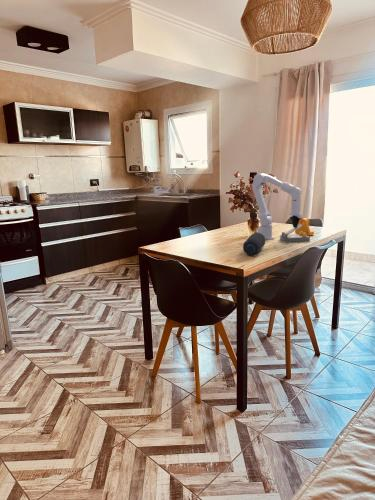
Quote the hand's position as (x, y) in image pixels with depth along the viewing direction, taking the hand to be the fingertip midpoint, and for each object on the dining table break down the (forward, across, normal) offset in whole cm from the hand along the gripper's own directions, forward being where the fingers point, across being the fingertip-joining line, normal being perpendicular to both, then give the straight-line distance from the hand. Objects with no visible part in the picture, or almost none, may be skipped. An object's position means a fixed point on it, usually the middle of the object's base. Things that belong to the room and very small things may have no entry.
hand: (295, 227), depth 225 cm
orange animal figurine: (+9, +15, -14) cm, 22 cm away
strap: (+2, 0, +1) cm, 3 cm away
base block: (+9, 0, 0) cm, 9 cm away
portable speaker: (+9, -21, +34) cm, 41 cm away
